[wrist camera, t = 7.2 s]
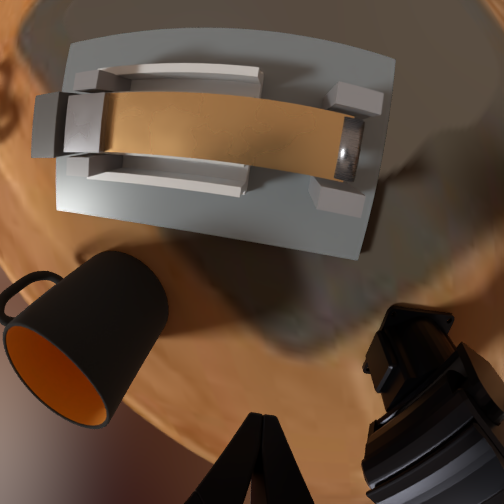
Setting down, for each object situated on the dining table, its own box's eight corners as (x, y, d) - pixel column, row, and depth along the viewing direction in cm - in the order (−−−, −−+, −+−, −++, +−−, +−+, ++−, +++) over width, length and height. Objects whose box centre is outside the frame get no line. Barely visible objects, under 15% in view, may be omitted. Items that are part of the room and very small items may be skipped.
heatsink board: (390, 62, 14) (431, 36, 8) (354, 254, 19) (378, 300, 13) (78, 46, 15) (25, 31, 9) (64, 206, 20) (12, 230, 14)
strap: (361, 121, 12) (370, 119, 11) (350, 181, 13) (358, 186, 12) (82, 97, 13) (66, 96, 11) (77, 149, 14) (61, 152, 12)
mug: (56, 216, 20) (-38, 266, 11) (181, 278, 21) (114, 378, 11) (51, 294, 23) (-18, 355, 14) (157, 353, 24) (108, 445, 14)
